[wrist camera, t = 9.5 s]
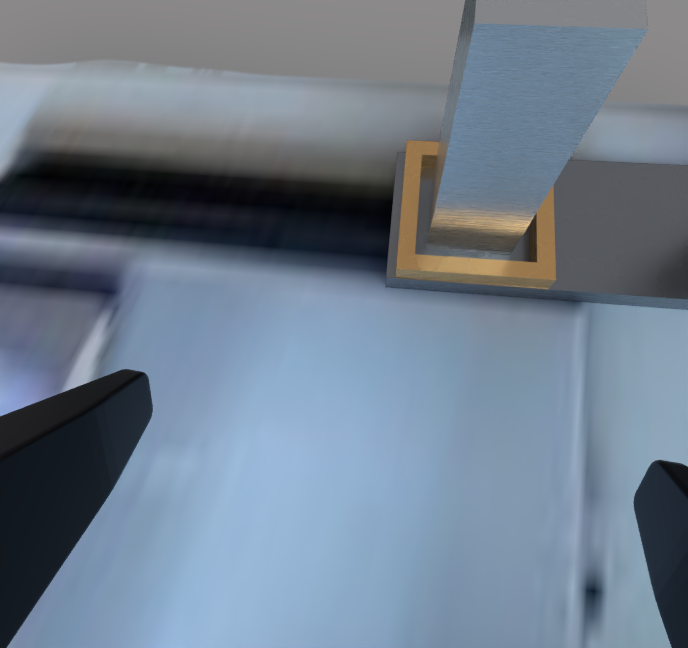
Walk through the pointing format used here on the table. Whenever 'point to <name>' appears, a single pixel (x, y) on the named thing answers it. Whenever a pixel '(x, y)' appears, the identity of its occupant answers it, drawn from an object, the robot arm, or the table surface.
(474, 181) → the gray block
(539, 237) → the rail
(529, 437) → the table surface
